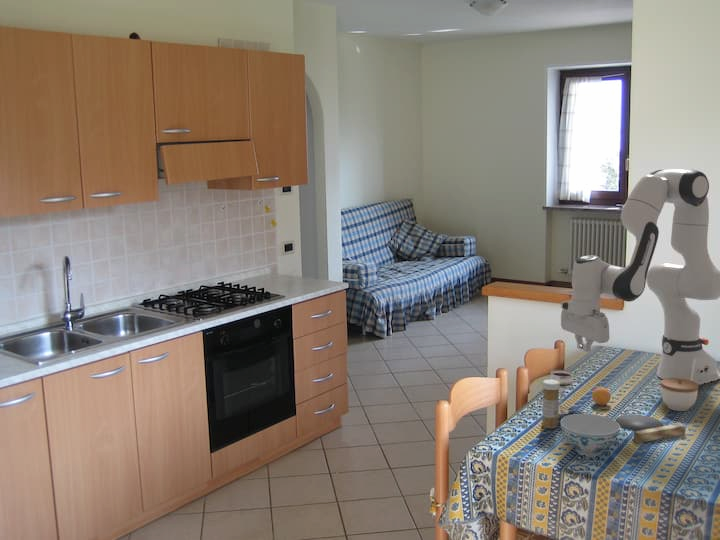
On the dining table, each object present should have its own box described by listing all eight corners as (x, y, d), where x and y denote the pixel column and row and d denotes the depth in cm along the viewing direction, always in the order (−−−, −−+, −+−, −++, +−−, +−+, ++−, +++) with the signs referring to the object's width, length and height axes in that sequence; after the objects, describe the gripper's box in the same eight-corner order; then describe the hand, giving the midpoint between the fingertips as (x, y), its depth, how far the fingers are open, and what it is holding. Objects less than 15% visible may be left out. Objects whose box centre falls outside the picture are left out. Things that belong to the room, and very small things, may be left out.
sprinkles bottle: (550, 422, 225) (552, 377, 223) (561, 427, 221) (563, 382, 219) (538, 424, 223) (539, 380, 221) (548, 430, 219) (550, 384, 217)
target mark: (641, 412, 232) (641, 412, 232) (673, 427, 220) (673, 427, 220) (605, 418, 228) (605, 418, 227) (636, 434, 216) (636, 433, 216)
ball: (602, 400, 243) (603, 383, 242) (614, 406, 238) (614, 389, 237) (587, 403, 241) (588, 386, 240) (599, 408, 236) (600, 391, 235)
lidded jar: (700, 414, 230) (702, 384, 229) (662, 412, 232) (664, 382, 231) (692, 402, 241) (694, 373, 239) (656, 400, 243) (658, 371, 241)
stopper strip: (679, 431, 217) (680, 423, 217) (684, 434, 215) (685, 425, 215) (633, 440, 212) (634, 431, 211) (638, 442, 210) (639, 434, 209)
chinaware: (606, 439, 212) (608, 413, 211) (627, 462, 197) (628, 434, 196) (552, 441, 212) (553, 414, 210) (569, 464, 197) (570, 435, 196)
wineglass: (575, 410, 234) (577, 372, 232) (564, 416, 229) (566, 378, 227) (555, 405, 239) (557, 368, 237) (544, 411, 234) (545, 373, 232)
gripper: (615, 313, 235) (613, 357, 237) (574, 300, 254) (572, 341, 256) (598, 315, 233) (596, 359, 235) (557, 301, 251) (556, 343, 254)
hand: (583, 349), depth 246 cm, fingers closed
